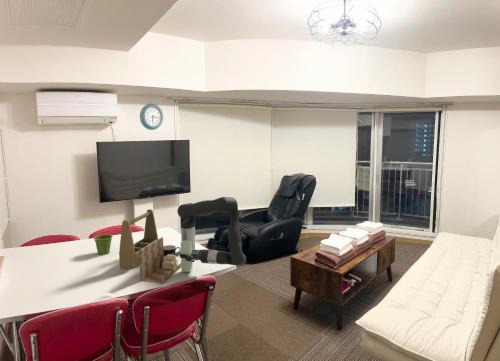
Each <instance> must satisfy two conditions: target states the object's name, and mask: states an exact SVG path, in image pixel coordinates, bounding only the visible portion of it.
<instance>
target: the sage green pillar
mask: <svg viewBox="0 0 500 361" xmlns="http://www.w3.org/2000/svg"><path fill="white" fill-rule="evenodd" d="M180 249H181V250H180V254H191V253H192V241H186V240H183V241H182V242H181V241H180ZM180 263H181V268H180V269H181V270H180V271H181V272H184V273H185V272H186V273H191V272H192V271H193V268H194V267H193V262H190V261H186V258H180Z"/></svg>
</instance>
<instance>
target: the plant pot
mask: <svg viewBox="0 0 500 361" xmlns="http://www.w3.org/2000/svg"><path fill="white" fill-rule="evenodd" d="M113 238H114V235H113V234H107V233H106V234H98V235H95V236H94V237H93V240H94V242H95V246H96V250H97V254H98V255H101V256H103V255H108V254H109V253H110V251H111V246H112V245H111V243H112V240H113Z"/></svg>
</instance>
